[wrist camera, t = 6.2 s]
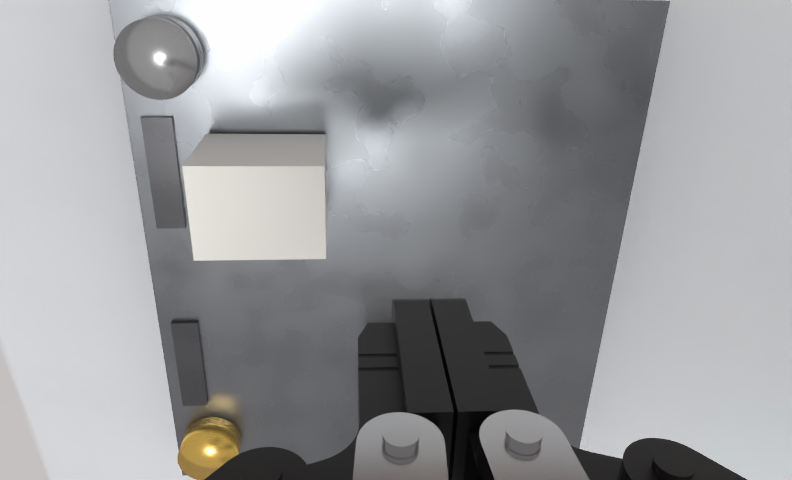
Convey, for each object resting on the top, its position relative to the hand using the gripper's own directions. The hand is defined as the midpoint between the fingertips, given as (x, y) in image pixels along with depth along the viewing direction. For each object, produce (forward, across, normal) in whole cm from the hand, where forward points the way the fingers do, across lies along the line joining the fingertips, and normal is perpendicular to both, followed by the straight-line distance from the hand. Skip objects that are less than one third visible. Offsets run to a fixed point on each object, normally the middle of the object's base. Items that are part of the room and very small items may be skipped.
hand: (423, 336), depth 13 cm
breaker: (+10, +4, 0) cm, 11 cm away
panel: (+12, 0, +4) cm, 12 cm away
